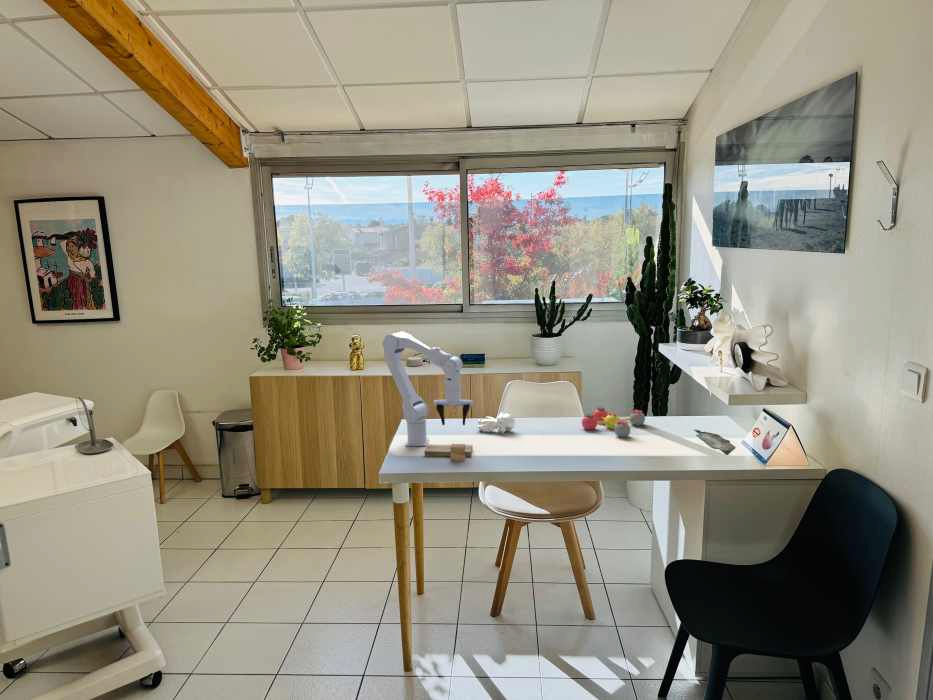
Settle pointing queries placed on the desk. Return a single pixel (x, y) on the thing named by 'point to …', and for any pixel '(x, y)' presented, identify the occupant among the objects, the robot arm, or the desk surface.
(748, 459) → the desk surface
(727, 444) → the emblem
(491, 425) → the figurine
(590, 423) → the molecule model
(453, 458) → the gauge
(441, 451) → the board
